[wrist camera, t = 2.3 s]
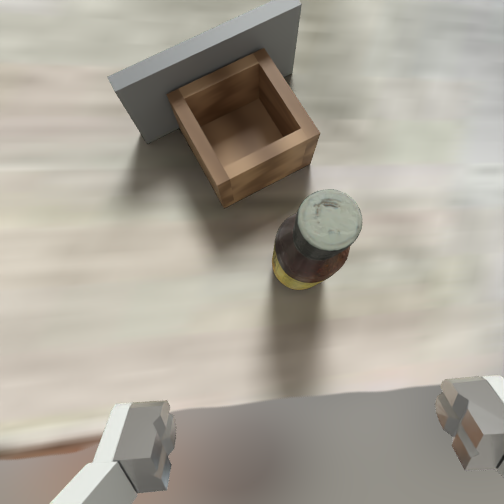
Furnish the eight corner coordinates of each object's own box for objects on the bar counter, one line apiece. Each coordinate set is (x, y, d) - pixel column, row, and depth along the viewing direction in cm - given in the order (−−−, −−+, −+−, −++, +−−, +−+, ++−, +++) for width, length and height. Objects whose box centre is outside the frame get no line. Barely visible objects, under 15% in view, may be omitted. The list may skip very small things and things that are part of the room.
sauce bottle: (290, 230, 40) (320, 144, 21) (333, 260, 40) (405, 198, 20) (259, 273, 39) (260, 224, 20) (302, 304, 39) (348, 284, 19)
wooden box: (224, 208, 41) (217, 185, 34) (180, 130, 44) (166, 94, 37) (310, 163, 42) (320, 133, 35) (263, 89, 45) (264, 47, 38)
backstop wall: (147, 144, 43) (114, 91, 34) (140, 132, 44) (107, 76, 34) (292, 73, 45) (301, 4, 35) (285, 62, 46) (292, -9, 36)
